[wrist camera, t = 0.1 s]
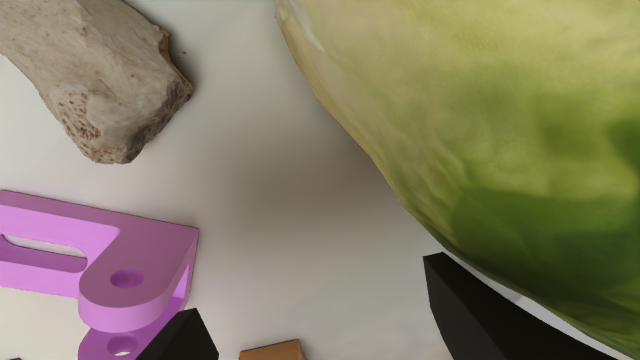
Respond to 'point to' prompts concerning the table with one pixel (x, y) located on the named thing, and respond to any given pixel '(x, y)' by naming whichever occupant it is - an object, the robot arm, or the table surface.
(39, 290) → the bracket
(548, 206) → the lettuce
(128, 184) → the table surface
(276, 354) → the wooden knob on block
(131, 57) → the bone fragment
